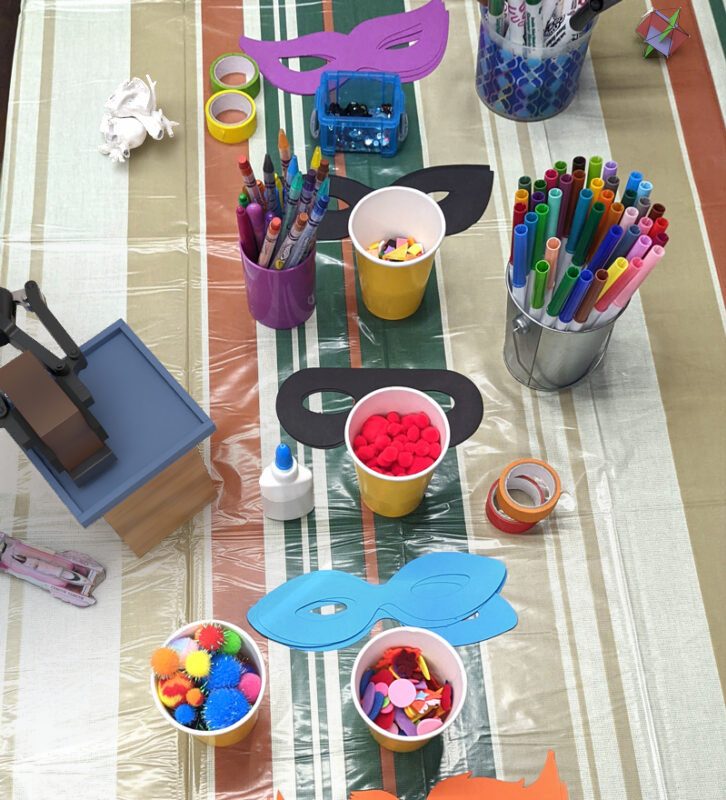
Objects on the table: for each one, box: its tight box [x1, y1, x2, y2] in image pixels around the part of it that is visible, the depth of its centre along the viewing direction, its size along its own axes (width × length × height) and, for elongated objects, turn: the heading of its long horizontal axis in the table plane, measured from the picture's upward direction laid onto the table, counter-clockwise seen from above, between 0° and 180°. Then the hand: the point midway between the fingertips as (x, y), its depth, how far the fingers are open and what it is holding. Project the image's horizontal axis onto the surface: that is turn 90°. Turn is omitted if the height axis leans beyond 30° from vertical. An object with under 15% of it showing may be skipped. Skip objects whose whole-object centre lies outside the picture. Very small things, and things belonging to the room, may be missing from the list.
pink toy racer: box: [0, 530, 106, 609], centre depth 102 cm, size 13×6×4 cm, turn 72°
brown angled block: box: [0, 349, 118, 488], centre depth 82 cm, size 10×5×10 cm, turn 41°
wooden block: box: [102, 445, 220, 559], centre depth 99 cm, size 12×12×20 cm
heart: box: [97, 74, 180, 163], centre depth 125 cm, size 12×7×12 cm
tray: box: [5, 317, 218, 530], centre depth 89 cm, size 16×16×2 cm
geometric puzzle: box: [634, 6, 691, 59], centre depth 131 cm, size 7×7×8 cm
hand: (79, 449), depth 79 cm, fingers closed on brown angled block, 4 cm apart
